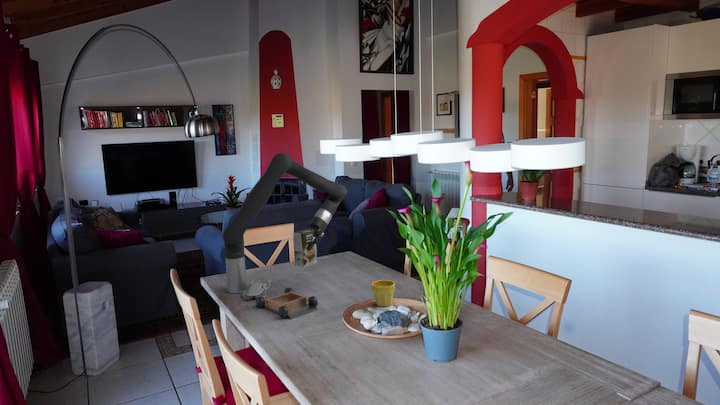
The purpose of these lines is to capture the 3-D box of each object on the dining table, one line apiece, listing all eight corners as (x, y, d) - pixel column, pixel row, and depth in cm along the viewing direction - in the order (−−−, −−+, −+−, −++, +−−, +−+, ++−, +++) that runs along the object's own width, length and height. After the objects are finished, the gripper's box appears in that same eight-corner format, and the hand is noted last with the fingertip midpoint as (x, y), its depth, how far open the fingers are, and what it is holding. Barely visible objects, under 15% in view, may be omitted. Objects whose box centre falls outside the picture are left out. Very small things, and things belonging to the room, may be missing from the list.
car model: (272, 285, 257) (272, 275, 256) (264, 301, 233) (263, 291, 232) (251, 286, 257) (250, 276, 256) (240, 302, 233) (239, 292, 232)
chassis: (254, 305, 227) (253, 295, 226) (285, 295, 238) (285, 285, 238) (287, 320, 208) (287, 308, 207) (320, 309, 220) (319, 298, 219)
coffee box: (304, 267, 232) (302, 233, 230) (294, 265, 236) (292, 232, 233) (317, 263, 239) (316, 229, 237) (307, 261, 243) (306, 228, 241)
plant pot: (368, 306, 220) (367, 285, 219) (378, 299, 229) (377, 278, 228) (389, 310, 215) (389, 288, 214) (399, 302, 224) (398, 281, 223)
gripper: (307, 214, 244) (288, 241, 238) (326, 217, 234) (307, 246, 228) (316, 223, 249) (298, 250, 243) (335, 226, 238) (317, 255, 232)
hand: (302, 248), depth 235 cm, fingers closed on coffee box, 7 cm apart
